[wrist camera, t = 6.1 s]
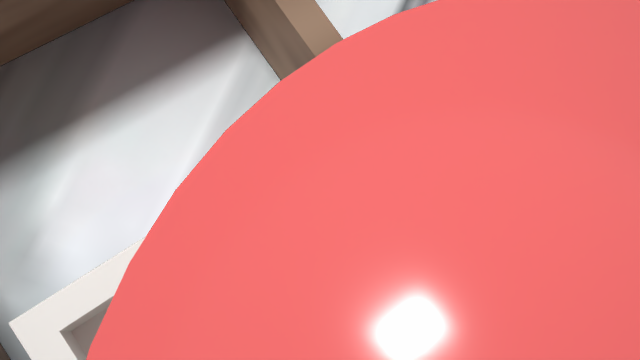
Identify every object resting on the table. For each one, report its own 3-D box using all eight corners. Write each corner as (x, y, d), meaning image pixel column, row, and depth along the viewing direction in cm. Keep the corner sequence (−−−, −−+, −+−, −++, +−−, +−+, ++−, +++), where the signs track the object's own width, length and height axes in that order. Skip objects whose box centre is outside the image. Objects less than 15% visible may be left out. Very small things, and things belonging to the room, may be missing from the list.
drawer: (500, 338, 23) (561, 339, 19) (140, 650, 18) (126, 732, 15) (209, -68, 25) (212, -141, 21) (-189, 120, 20) (-277, 70, 16)
